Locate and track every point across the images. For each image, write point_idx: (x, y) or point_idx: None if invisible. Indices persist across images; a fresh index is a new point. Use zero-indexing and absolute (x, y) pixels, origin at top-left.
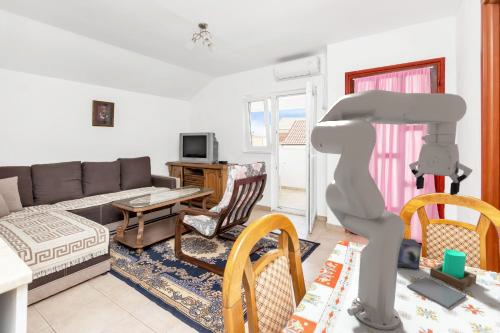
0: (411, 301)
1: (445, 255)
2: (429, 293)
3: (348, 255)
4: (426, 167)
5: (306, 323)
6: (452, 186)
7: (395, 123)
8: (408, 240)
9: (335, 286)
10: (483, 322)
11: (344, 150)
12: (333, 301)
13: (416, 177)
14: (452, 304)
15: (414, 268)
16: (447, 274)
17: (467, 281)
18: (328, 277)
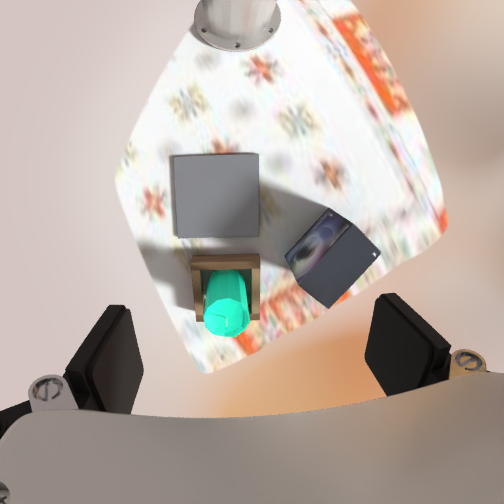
0: (223, 111)
1: (240, 298)
2: (216, 169)
3: (409, 168)
4: (466, 470)
5: None
6: (87, 345)
7: None
8: (335, 284)
9: (333, 26)
10: (127, 177)
11: None
12: None
13: (459, 350)
14: (174, 176)
15: (291, 249)
16: (225, 267)
17: (192, 280)
18: (364, 41)
